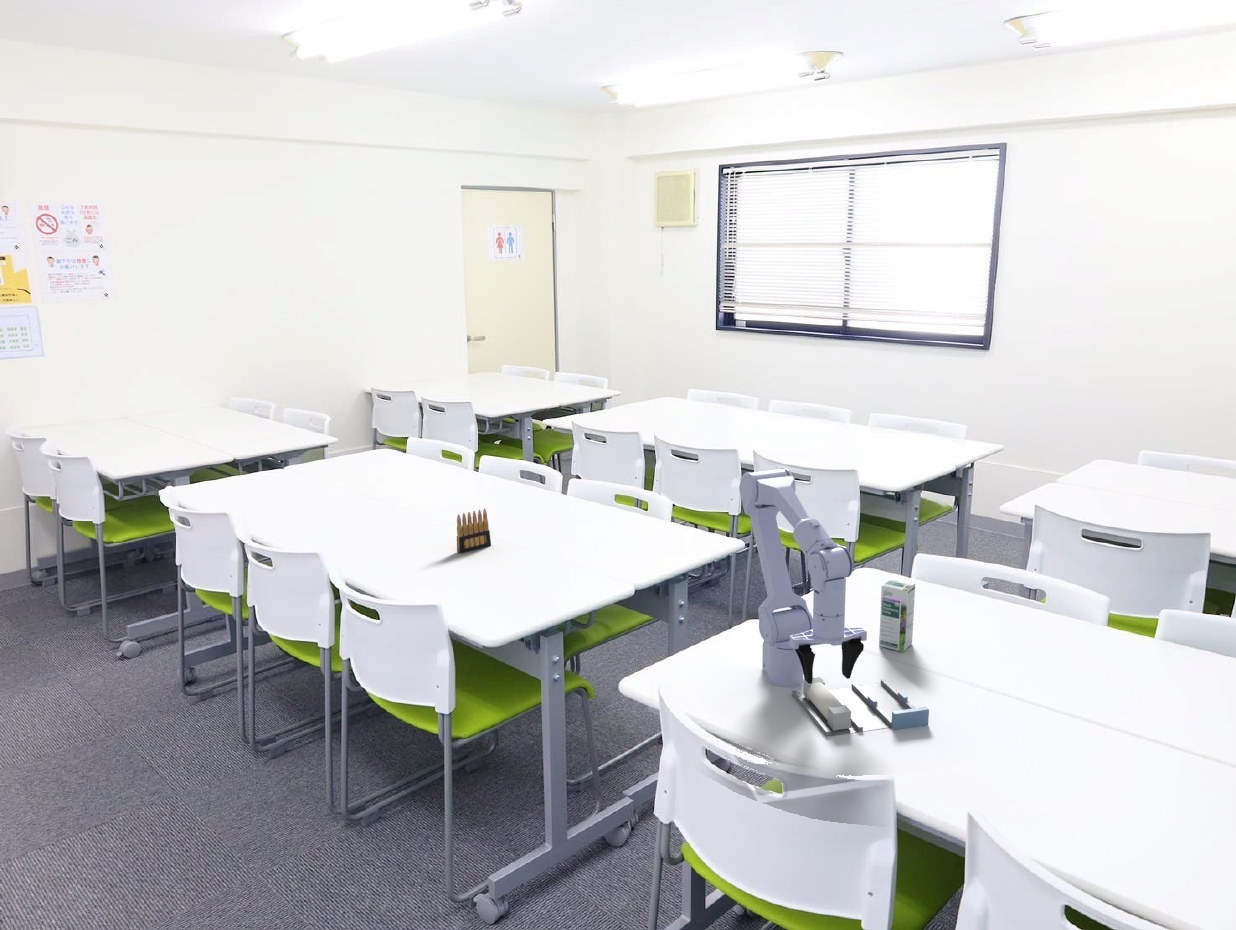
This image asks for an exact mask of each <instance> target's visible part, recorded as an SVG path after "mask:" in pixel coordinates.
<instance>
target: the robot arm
mask: <svg viewBox="0 0 1236 930" xmlns="http://www.w3.org/2000/svg"><path fill="white" fill-rule="evenodd" d="M796 486H797V485H796V479H795V477H794V476H793V473H792V472H791V471H790V470H789V468H787V467H782V468H777V469H769V470H762V471H752V472H749V471H747V472H745V473H743V474H742V477H741V478H740V483H739V486H738V488H739V489H738V490H739V495H740V500H741V504H742V507H743V511H744V514H745V515H746V516H748V517H750V521H751V526H752V531H753V536H754V539H755V544H756V548H757V552H758V553H757V554H758V558H759V562H760V568H761V571H762V576H763V580H764V585H765V589H766V594H767V597H765V598H766V599H764V601H763V602H762V603H761V604H760V605H759V607H758V608H757V613H758V630H759V634H760V636H761V638H762V640H763V642H762V662H761V663H762V665H761V667H762V670H763V672H764V673H765V674H766V676H767V680H768V682H769V683H771V684H773V685H775V686H778V687H785V688H786V687H787V688H789V687H790V688H791V687H797V686H799V685H801V684H802V683H803V681H804V679H805V680H806V682H807V683H808V684H811V683H812V680H813V678H814V676H813V675H814V672H813V669H814V661H815V657H816V653H815V652H813V651H812V650H813V648H812V646H819V645H831V646H833V647H834V646H836V647H837V646H841V647H840V648H841V673H842V676H843V677H845V678H846V679H847V680H848V679H851V676H852V674H853V670H854V667H855V664H856V662H857V661H858V658H859V657H860V656H861V654H862V652H863V651H864V649H865V648H864V647H865V644H864V643H862V642H864V641H867V637H868V633H867V632H868V630H867V629H865V628H864V627H863V626H858V627H854V626H852V627H846V626H845V624H846V623H845V622H846V621H845V620H846V619H845V618H846V616H845V615H846V593H847V592H846V590H847V589H846V585H847V578H849V577H851V575H852V574H853V570H854V561H853V557H852V555H851V553H850V551H849V549H848V548H847V547H846V546H844V545H840V544H839V543H838V542H834V541H833V539H832V538H831V537H830V535H829V534H828V532H827V530H825V529H826V528H824V527H823V525H822V523H820V521H819V520H817V519H815V518H810V516H809V515H808V513H807V511H806V509H805V508H804V506H803V504H802V503H801V501H800V499H799V497H798V495H797V493H796V490H797V489H796ZM779 512H780V513H781V515H782V516H783V517H784V518H785V520H786V521H787V522H788V523H789V524H790V525H791V527H793V532H792V537H793V539H794V541H795V542H796V544H797V546H798V547H799V549H800V550H801V551H802V553H803V554H804V557H806V559H807V560H808V561H807V570H808V573H809V575H810V585H811V588H812V589H813V599H812V600H813V601H812V602H813V603H812V606H813V607H812V608H813V609H812V614H811V612H810V610H809V608H808V605H807V601H806V599H804V598H803V597H801V596H800V595H798V594H796V593H795V592H794V591H793V587H792V583H791V579H790V574H789V570H788V565H787V560H786V556H785V552H784V548H783V544H782V539H781V535H780V531H779V526H778V525H779V524H778V522H777V521H778V520H777V516H778V513H779ZM784 608H785V609H784ZM786 608H790V609H786ZM781 609H784V610H781ZM775 610H778V611H775Z"/></svg>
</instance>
